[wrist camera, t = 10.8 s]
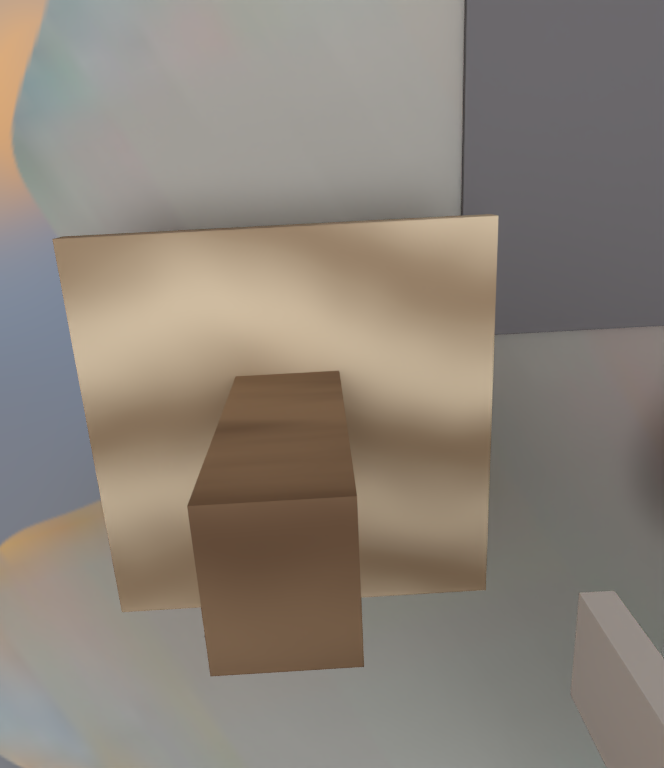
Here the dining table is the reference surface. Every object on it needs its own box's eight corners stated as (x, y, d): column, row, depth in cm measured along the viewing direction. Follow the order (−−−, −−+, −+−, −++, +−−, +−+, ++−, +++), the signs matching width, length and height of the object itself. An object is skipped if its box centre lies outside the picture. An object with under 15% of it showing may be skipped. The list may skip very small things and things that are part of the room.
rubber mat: (782, 317, 35) (787, 319, 34) (459, 334, 35) (460, 336, 34) (851, -63, 29) (858, -66, 29) (465, -45, 29) (467, -48, 29)
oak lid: (479, 576, 29) (576, 805, 18) (128, 597, 28) (22, 842, 18) (490, 214, 24) (633, 245, 13) (62, 236, 23) (-138, 286, 13)
